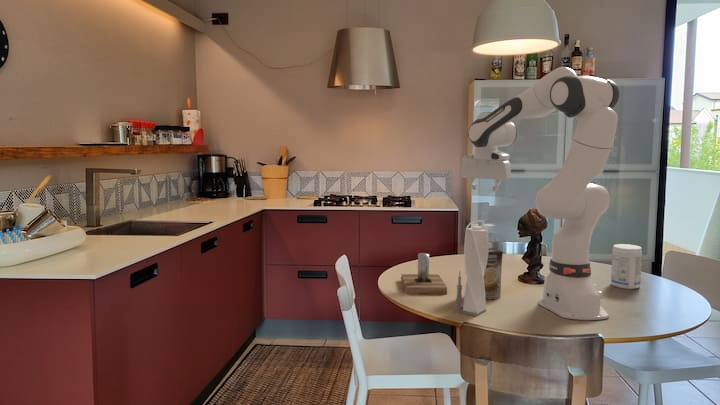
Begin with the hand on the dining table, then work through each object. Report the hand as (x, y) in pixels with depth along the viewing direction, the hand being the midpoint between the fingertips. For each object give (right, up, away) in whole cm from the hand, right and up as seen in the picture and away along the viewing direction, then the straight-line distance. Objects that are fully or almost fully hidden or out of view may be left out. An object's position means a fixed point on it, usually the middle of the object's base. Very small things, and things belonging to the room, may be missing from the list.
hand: (484, 190), depth 204 cm
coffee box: (-7, -37, -28) cm, 47 cm away
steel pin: (-26, -35, -16) cm, 47 cm away
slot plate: (-26, -35, -16) cm, 47 cm away
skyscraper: (-14, -38, -43) cm, 59 cm away
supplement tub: (+48, -35, -14) cm, 61 cm away
